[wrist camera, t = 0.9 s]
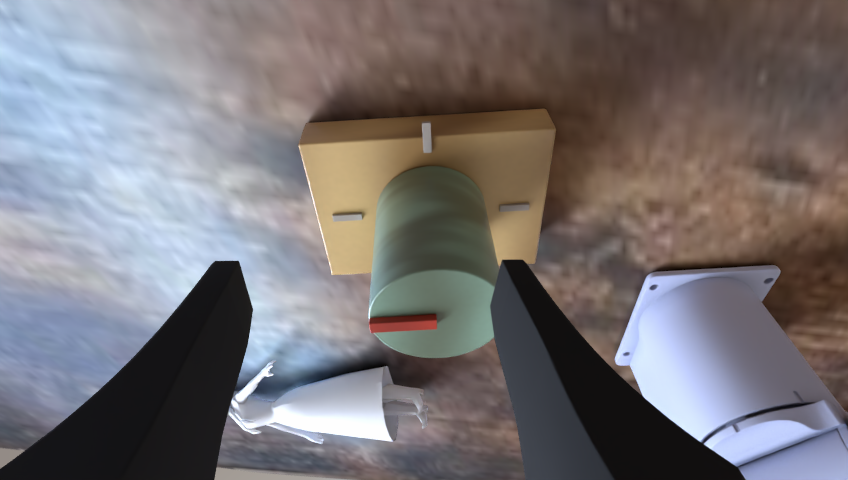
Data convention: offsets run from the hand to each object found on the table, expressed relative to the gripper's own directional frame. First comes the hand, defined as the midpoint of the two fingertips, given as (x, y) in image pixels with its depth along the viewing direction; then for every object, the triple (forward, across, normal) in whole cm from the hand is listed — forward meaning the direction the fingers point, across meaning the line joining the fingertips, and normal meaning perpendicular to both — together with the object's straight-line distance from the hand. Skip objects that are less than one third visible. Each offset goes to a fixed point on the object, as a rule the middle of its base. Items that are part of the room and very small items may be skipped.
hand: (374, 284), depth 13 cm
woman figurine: (+10, +5, +23) cm, 26 cm away
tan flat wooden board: (+10, -3, +4) cm, 11 cm away
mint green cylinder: (+8, -3, +4) cm, 10 cm away
